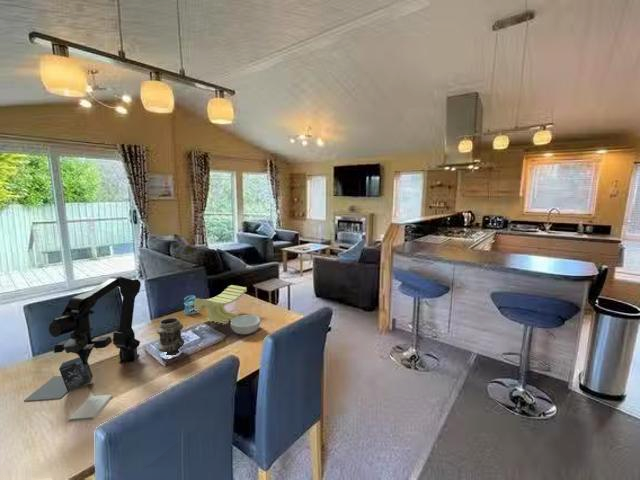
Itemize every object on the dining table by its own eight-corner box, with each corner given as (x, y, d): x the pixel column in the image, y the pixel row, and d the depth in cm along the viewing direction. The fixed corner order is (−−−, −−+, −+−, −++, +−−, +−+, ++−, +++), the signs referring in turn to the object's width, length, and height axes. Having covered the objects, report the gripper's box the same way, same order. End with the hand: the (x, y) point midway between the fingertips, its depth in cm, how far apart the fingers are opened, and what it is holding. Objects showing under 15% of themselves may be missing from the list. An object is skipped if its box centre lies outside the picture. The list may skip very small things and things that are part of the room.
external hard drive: (68, 423, 108) (90, 399, 120) (93, 420, 109) (112, 397, 121) (68, 418, 108) (89, 395, 120) (93, 416, 109) (112, 394, 121)
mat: (86, 375, 135) (86, 374, 135) (60, 398, 120) (60, 397, 120) (54, 377, 134) (53, 376, 134) (23, 401, 118) (23, 400, 118)
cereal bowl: (224, 335, 174) (224, 323, 173) (242, 323, 190) (242, 313, 189) (249, 340, 168) (249, 328, 167) (265, 328, 183) (265, 317, 182)
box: (67, 391, 123) (58, 368, 121) (71, 384, 128) (62, 362, 126) (90, 383, 126) (82, 360, 124) (93, 376, 131) (85, 354, 129)
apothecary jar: (176, 346, 161) (174, 313, 159) (189, 353, 154) (187, 319, 152) (153, 355, 152) (150, 321, 149) (166, 363, 145) (163, 327, 142)
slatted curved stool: (229, 308, 214) (228, 284, 211) (247, 312, 207) (246, 287, 205) (195, 325, 187) (193, 297, 185) (214, 330, 180) (213, 301, 178)
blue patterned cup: (182, 313, 206) (181, 296, 204) (195, 309, 212) (193, 293, 210) (186, 316, 201) (185, 299, 199) (199, 313, 206) (198, 296, 204)
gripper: (41, 337, 115) (45, 377, 116) (96, 332, 118) (99, 371, 119) (61, 327, 126) (64, 363, 127) (110, 322, 129) (114, 358, 130)
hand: (85, 364), depth 125 cm, fingers closed
